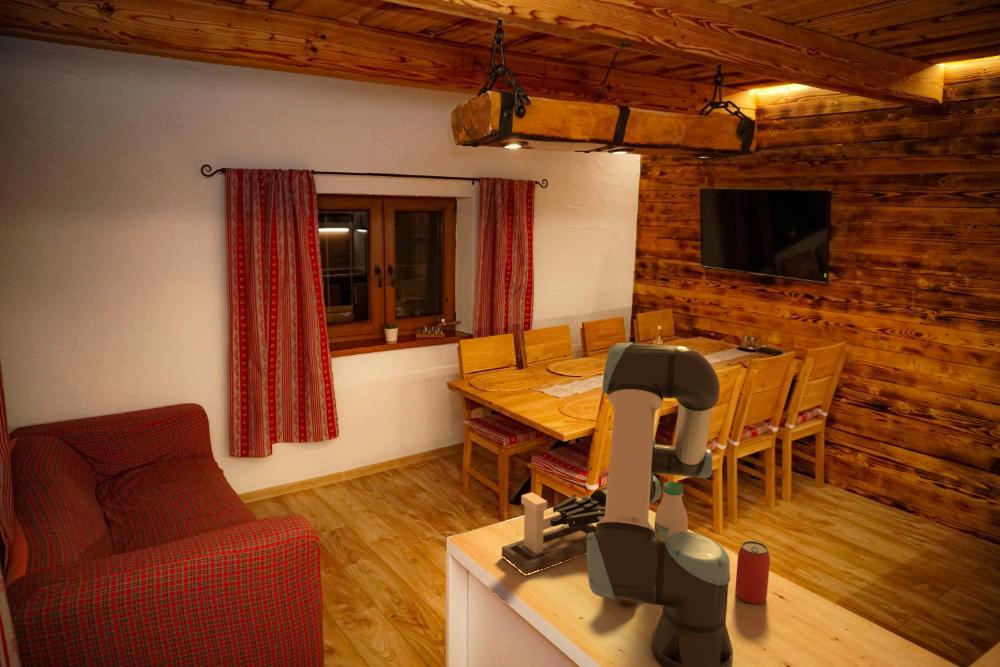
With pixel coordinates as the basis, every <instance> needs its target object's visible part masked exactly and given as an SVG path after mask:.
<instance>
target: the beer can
mask: <svg viewBox="0 0 1000 667" xmlns="http://www.w3.org/2000/svg"><path fill="white" fill-rule="evenodd" d="M770 562H771V556H770V553H769V548H768V546H767V545H766V544H764V543H762V542H758V541H755V540H754V541H753V540H747V541H743V542H741V546H740V548H739V551H738V553H737V565H736V566H737V567H736V574H735V575H736V576H735V577H736V579H735V588H734V589H735V590H734V591H735V592H734V593H735V595H736V597H738V599H740V600H741V601H743V602H745V603H748V604H751V605H752V604H755V605H758V604H762V603H764V602H765V601H766V600H767V597H768V589H769V588H768V586H769V576H770V575H769V574H770V566H771V565H770V564H771V563H770Z"/></svg>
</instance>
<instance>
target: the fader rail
mask: <svg viewBox="0 0 1000 667" xmlns="http://www.w3.org/2000/svg"><path fill="white" fill-rule="evenodd" d="M592 532H594V533H595V532H596V525H594V524H593V523H592V524H587V525H581V526H575V527H569V525H568V524H566V525H562V526H561V527H558V528H555V529H552V530H549V531H546V532H543V547H545V548H546V549H547V550H549V551H550V553H546V554H544V555H542V556H540V557H537V558H534V559H531V560H528V559H527V558H526V557H524V556H523V555H522V554H520V553H519V552H518V551H517V545H520V544H523V543H524V539H522V540H518V541H516V542H512V543H509V544H506V545H504V546H502V547H501V557H502V556H503V557H505V558H506V559H507V560H509V561H510V562H511V563H512V564H514V565H515V566H516V567H517V568H518V569H520V570H521V571H522V572H523V573H525V574H528V573H532V572H534V571H537V570H541V569H544V568H547V567H550V566H552V565H555V564H558V563H560V562H564V561H566V560H569V559H572V558H575V557H578V556H580V557H582V556H581V555H583V556H585V555H584V554H586V553H587V535H588V534H589V533H592ZM586 555H587V554H586ZM578 558H579V557H578ZM575 559H576V558H575ZM572 560H573V559H572ZM564 563H565V562H564Z"/></svg>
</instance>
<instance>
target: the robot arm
mask: <svg viewBox="0 0 1000 667" xmlns="http://www.w3.org/2000/svg"><path fill="white" fill-rule="evenodd" d="M603 371H604V372H603V374H604V375H603V378H602V392H603V393H604V394H605V395H607V396H608V402H609V404H611V406H613V408H614V409H613V410H614V411H613V421H612V432H611V433H612V434H611V443H610V444H611V445H610V453H609V464H608V465H609V466H608V475H607V478H608V479H607V484H606V486H604V487H602V488H601V487H600V488H598V489H595V490H594V491H592V493H591V494H590V496H584V497H582V498H581V497H580V498H579V497H577V496H578V495H577V494H572V495H571V496H570V497H569V498H567V499H565V500H563V501H562V502H559V503H558V504H556V505H553V507H552V511H553V512H549V513H547V514H545V515H544V524H543V531H544V530H547V529H551V528H553V527H557V526H560V525H562V526H564V525H565V526H566V525H569V527H575V526H581V525H587V524H592V525H593V524H595V527H596V532H595V533H594V532H592V533H589V534H588V535H587V554H586V560H587V561H586V562H587V563H586V564H587V577H588V586H589V589H590V591H591V592H592V593H593V594H594V595H596V596H598V597H601V598H602V597H603V598H607V599H611V600H613V601H616V600H617V599H620V600H626V601H633V602H637V603H643V604H647V605H654V606H655V605H656V606H662V613H661V615H660V618H659V620H658V621H657V624H656V626H655V629H654V631H653V632H652V636H651V647H650V648H651V653H652V656H653V659H654V660H655V661H656V663H658V665H659V666H661V667H732V666H733V662H734V661H733V658H734V650H733V646H732V642H731V639H730V635H729V630H728V627H727V623H726V621H727V610H728V609H727V608H728V596H729V594H728V593H729V592H728V591H729V584H730V581H731V572H730V566H731V565H730V562H731V561H730V557H729V554H728V553H727V551H726V550H725V548H723V546H721V545H720V544H719V543H718V542H716V541H715V540H713V539H711V538H709V537H707V536H704V535H702V534H698V533H696V532H691V531H690V532H689V531H687V532H679V533H673V534H671V535H670V536H669V537H668V539H667V540H666V542H662V541H656V540H655V530H654V528H653V525H651V524H650V523H649V515H650V514H649V513H650V512H649V511H650V505H651V504H652V503H654V502H656V501H658V500H659V499H660V498H661V495H662V487H661V486H660V484H661V482H660V481H659V479H658V478H657V477H656V476H655V475H654V474H660V475H661V474H662V475H672V476H679V477H680V476H681V477H689V478H693V479H694V478H695V479H697V478H703V479H704V478H706V479H708V478H709V477H711V475H712V473H713V472H712V470H713V451H712V450H711V449H709V448H708V440H709V435H710V426H711V419H712V413H713V408H714V407H715V406H716V405H717V404H718V401H719V398H720V392H721V391H720V390H721V386H720V380H719V376H718V375H717V372H716V371H715V369H714V367H713V365H712V364H711V362H709V361H708V360H707V358H706V357H705V356H704V355H703V354H701V353H700V352H698V351H696V350H695V349H693V348H690V347H689V346H688V347H687V346H686V345H685V346H684V345H676V344H674V345H673V344H672V345H671V344H670V345H668V344H653V343H638V342H637V343H636V342H634V341H633V342H632V341H631V342H617V343H614V344H613V345H612V346H611V347H610V349H609V351H608V354H607V357H606V360H605V366H604V370H603ZM664 399H675V400H676V401H677V403H678V410H677V420H676V422H677V423H676V434H675V445H667V444H657V443H656V439H655V437H654V434H655V432H654V431H655V415H656V412H657V410H659V409H660V408H661V407H662V406H663V404H664V402H663V400H664ZM657 547H658V548H657Z"/></svg>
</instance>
